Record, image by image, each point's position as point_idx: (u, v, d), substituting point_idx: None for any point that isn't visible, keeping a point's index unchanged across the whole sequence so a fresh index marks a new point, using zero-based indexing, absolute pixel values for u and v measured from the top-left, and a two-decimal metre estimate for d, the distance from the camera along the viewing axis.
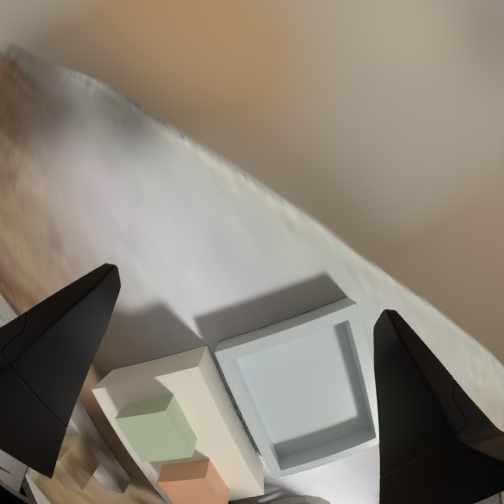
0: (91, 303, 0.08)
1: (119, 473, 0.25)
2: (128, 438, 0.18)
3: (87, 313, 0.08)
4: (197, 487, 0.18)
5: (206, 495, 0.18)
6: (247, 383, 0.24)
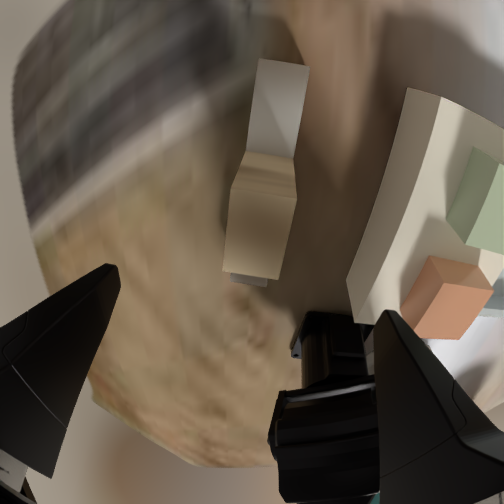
0: (91, 303, 0.08)
1: None
2: (487, 200, 0.11)
3: (87, 313, 0.08)
4: (473, 302, 0.14)
5: (466, 316, 0.15)
6: None
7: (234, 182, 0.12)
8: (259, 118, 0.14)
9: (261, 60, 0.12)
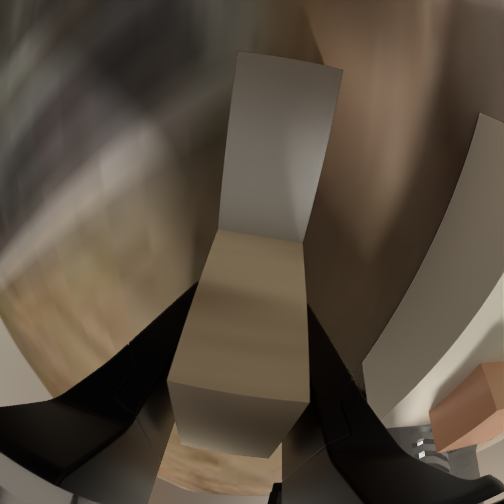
0: None
1: None
2: None
3: None
4: None
5: None
6: None
7: (178, 354, 0.05)
8: (241, 172, 0.08)
9: (243, 55, 0.06)
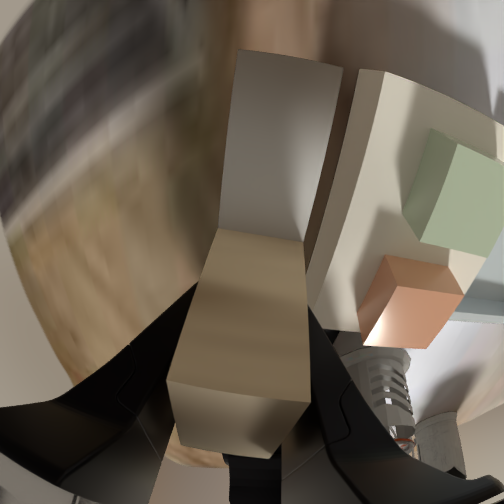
0: None
1: None
2: (445, 189, 0.10)
3: None
4: (438, 308, 0.13)
5: (432, 324, 0.14)
6: None
7: (177, 353, 0.05)
8: (241, 170, 0.08)
9: (244, 53, 0.06)
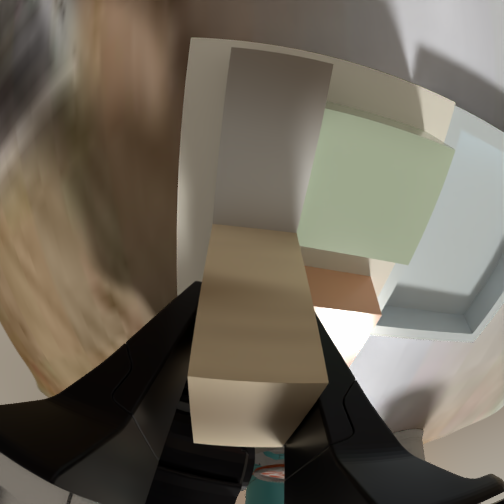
0: (193, 327, 0.08)
1: None
2: (311, 172, 0.08)
3: (189, 338, 0.08)
4: (345, 329, 0.12)
5: (342, 346, 0.13)
6: None
7: (194, 349, 0.05)
8: (235, 165, 0.08)
9: (237, 51, 0.06)
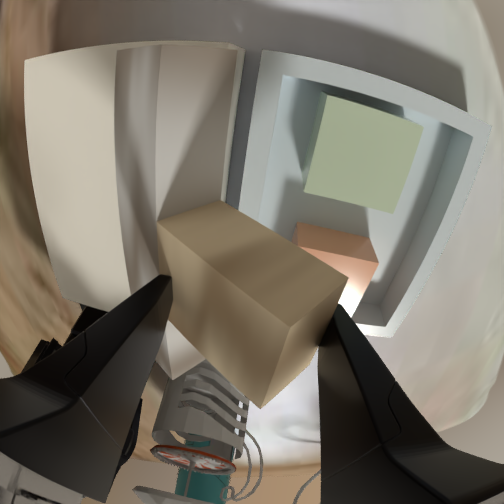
0: (152, 318, 0.08)
1: None
2: None
3: (148, 329, 0.08)
4: None
5: None
6: (273, 138, 0.14)
7: (270, 309, 0.06)
8: (170, 158, 0.08)
9: (166, 48, 0.06)
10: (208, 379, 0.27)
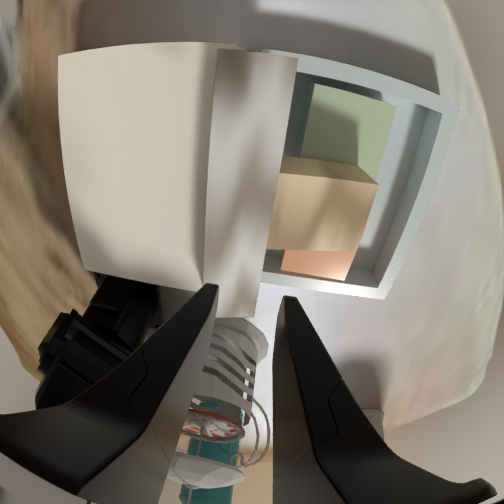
0: (206, 329, 0.08)
1: None
2: None
3: (201, 341, 0.08)
4: None
5: None
6: None
7: (368, 182, 0.13)
8: None
9: (297, 60, 0.10)
10: None
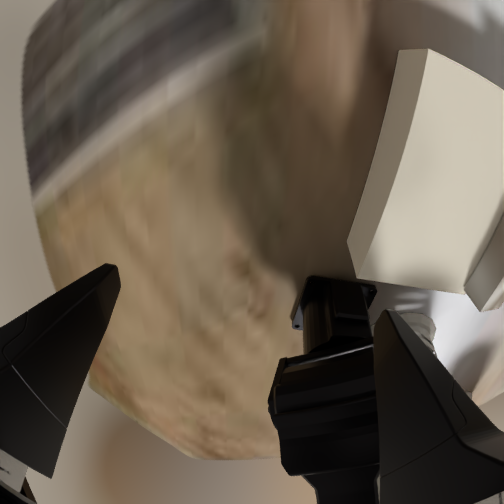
0: (91, 303, 0.08)
1: None
2: None
3: (87, 313, 0.08)
4: None
5: None
6: None
7: None
8: None
9: None
10: None
